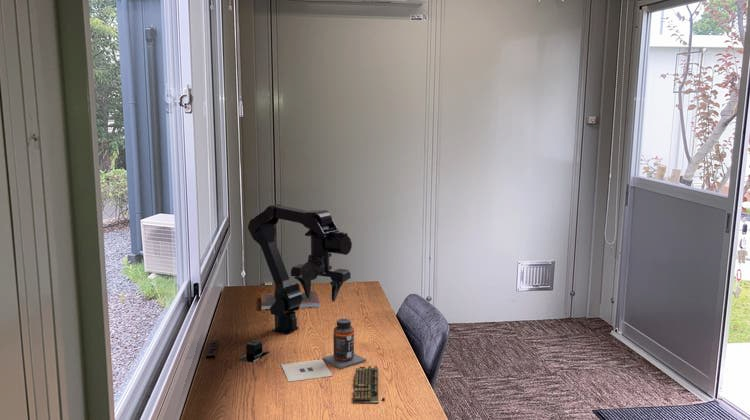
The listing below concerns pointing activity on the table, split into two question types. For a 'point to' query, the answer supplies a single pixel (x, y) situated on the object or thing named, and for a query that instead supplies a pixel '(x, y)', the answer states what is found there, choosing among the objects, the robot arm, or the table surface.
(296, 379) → the card
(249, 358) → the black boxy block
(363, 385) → the keyboard
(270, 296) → the picture frame
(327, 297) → the table surface
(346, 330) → the supplement bottle
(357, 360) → the slate coaster
